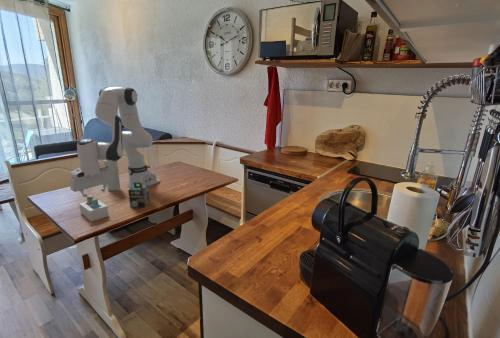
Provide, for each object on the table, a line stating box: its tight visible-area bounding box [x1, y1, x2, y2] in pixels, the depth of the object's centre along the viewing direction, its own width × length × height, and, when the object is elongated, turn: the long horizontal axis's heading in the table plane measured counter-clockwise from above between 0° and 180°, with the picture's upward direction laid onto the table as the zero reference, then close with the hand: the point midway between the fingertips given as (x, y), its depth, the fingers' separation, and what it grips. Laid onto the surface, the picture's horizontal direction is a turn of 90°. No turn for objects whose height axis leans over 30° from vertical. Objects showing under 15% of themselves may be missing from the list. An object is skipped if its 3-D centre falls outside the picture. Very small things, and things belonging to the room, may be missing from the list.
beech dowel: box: [86, 195, 94, 205], centre depth 150 cm, size 3×3×10 cm
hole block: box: [78, 199, 110, 222], centre depth 148 cm, size 9×14×6 cm, turn 51°
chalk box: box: [127, 183, 151, 208], centre depth 161 cm, size 9×9×15 cm
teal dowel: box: [91, 198, 99, 209], centre depth 146 cm, size 3×3×10 cm
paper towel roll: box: [103, 160, 121, 192], centre depth 181 cm, size 7×6×21 cm
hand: (94, 193), depth 144 cm, fingers open, 8 cm apart
